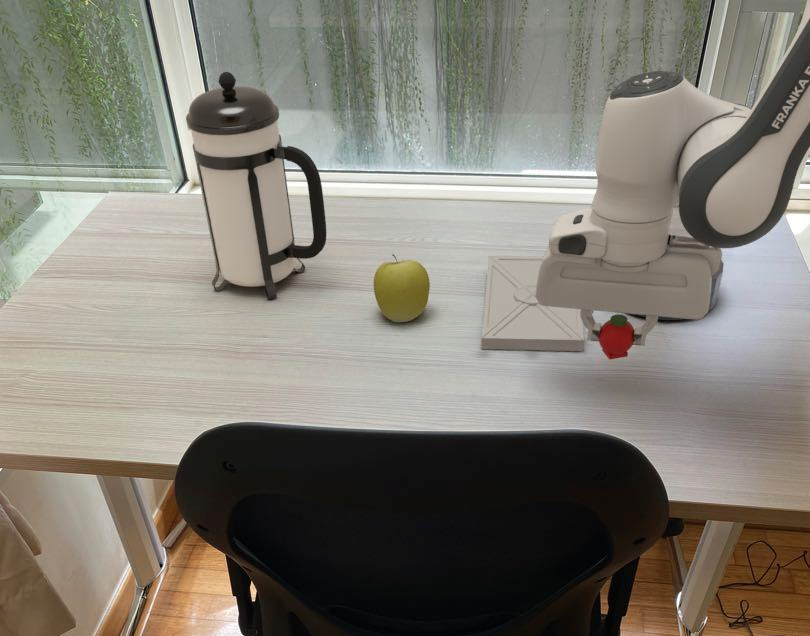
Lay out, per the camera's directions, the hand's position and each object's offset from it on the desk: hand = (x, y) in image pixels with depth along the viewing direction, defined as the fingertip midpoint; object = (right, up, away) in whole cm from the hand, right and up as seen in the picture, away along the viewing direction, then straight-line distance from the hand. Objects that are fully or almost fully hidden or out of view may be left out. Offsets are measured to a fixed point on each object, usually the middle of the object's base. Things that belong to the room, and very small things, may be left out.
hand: (615, 341), depth 108 cm
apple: (-26, +8, +20) cm, 34 cm away
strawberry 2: (0, -1, +1) cm, 2 cm away
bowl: (+12, +11, +20) cm, 26 cm away
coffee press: (-48, +16, +30) cm, 59 cm away
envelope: (-7, +9, +20) cm, 23 cm away
